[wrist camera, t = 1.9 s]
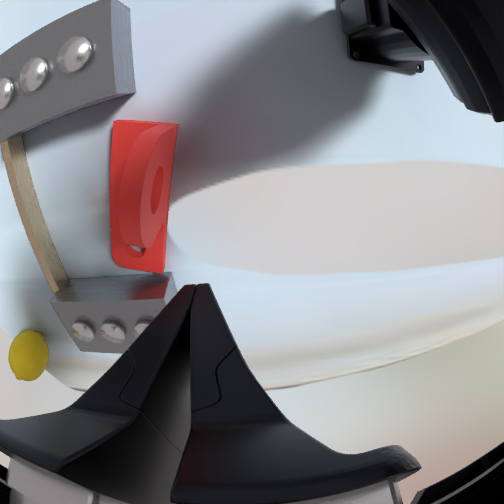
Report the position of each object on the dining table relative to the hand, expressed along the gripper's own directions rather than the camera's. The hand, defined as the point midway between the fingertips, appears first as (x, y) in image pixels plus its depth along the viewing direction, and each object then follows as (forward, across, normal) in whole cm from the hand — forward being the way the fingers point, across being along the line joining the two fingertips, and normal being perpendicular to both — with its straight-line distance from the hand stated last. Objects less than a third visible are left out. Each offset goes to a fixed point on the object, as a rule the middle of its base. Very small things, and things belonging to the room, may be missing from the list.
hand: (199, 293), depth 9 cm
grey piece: (+12, +11, 0) cm, 17 cm away
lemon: (+12, +27, +16) cm, 34 cm away
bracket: (+13, +6, +1) cm, 14 cm away
